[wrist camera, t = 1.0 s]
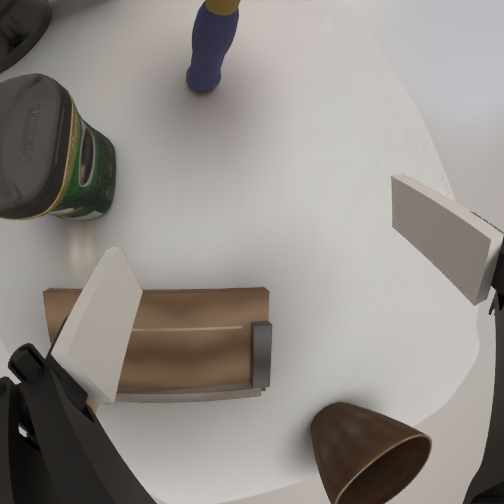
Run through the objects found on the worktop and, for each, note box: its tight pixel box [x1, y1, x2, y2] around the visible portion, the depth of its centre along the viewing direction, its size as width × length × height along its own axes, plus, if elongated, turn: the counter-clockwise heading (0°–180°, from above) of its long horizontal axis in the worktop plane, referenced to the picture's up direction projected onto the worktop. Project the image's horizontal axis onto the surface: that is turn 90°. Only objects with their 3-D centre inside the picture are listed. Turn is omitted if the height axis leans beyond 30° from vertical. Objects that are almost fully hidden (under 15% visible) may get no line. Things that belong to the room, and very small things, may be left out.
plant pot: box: [311, 403, 432, 504], centre depth 31 cm, size 15×15×16 cm
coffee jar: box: [0, 74, 116, 220], centre depth 19 cm, size 10×8×19 cm
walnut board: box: [43, 287, 272, 403], centre depth 30 cm, size 13×26×4 cm, turn 90°
